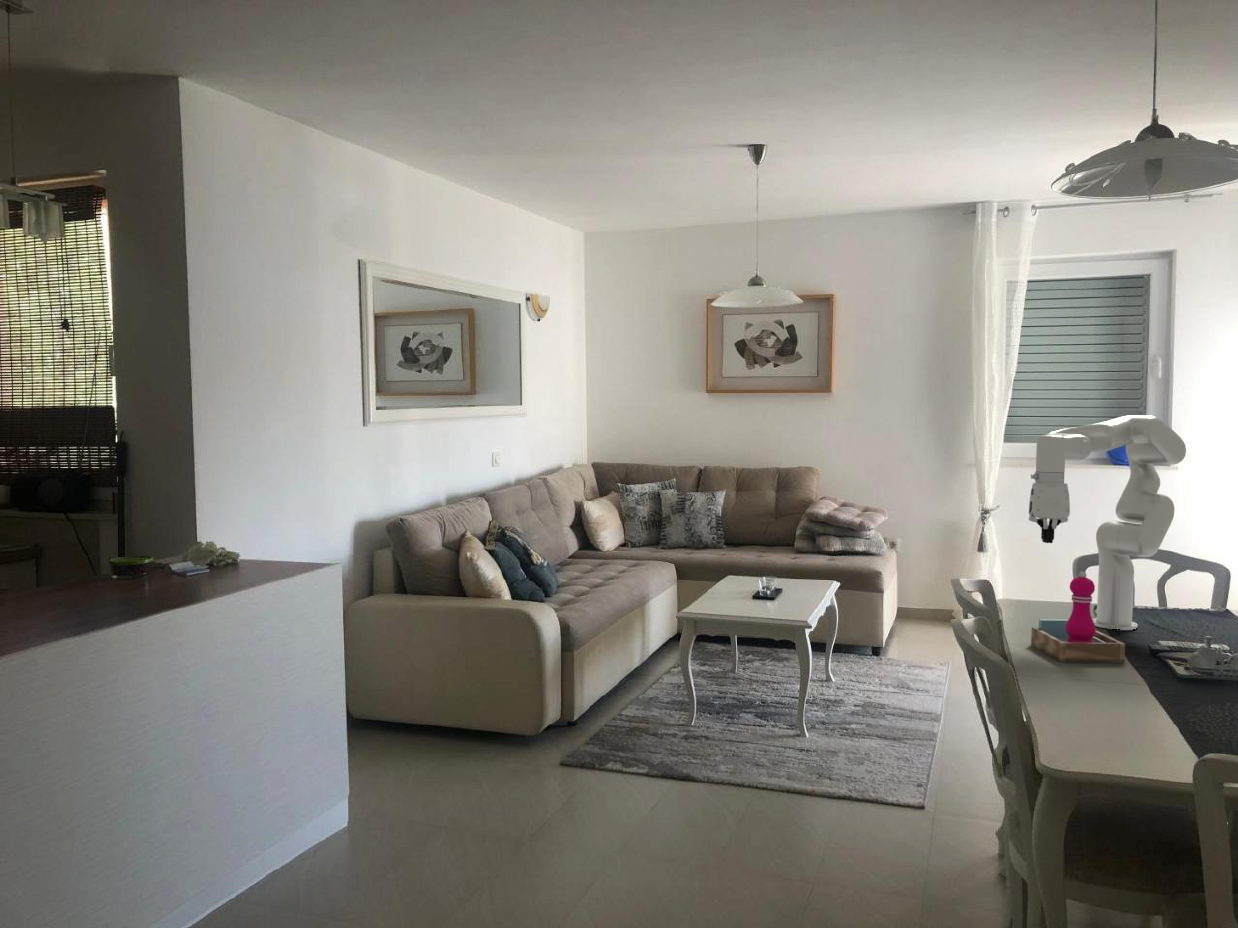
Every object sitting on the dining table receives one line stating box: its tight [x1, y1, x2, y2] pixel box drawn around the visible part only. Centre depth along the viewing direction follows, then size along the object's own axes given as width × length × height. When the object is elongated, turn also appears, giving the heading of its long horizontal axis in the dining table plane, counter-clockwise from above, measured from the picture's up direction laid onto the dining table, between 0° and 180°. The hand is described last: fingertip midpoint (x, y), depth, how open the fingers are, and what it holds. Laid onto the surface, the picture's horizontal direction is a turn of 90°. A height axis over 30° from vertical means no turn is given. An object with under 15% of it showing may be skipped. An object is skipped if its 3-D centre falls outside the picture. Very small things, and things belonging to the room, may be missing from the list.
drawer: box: [1038, 618, 1106, 643], centre depth 263 cm, size 16×13×6 cm
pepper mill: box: [1066, 571, 1097, 642], centre depth 261 cm, size 7×7×20 cm
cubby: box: [1030, 626, 1126, 664], centre depth 263 cm, size 18×16×5 cm
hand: (1047, 542), depth 281 cm, fingers closed
